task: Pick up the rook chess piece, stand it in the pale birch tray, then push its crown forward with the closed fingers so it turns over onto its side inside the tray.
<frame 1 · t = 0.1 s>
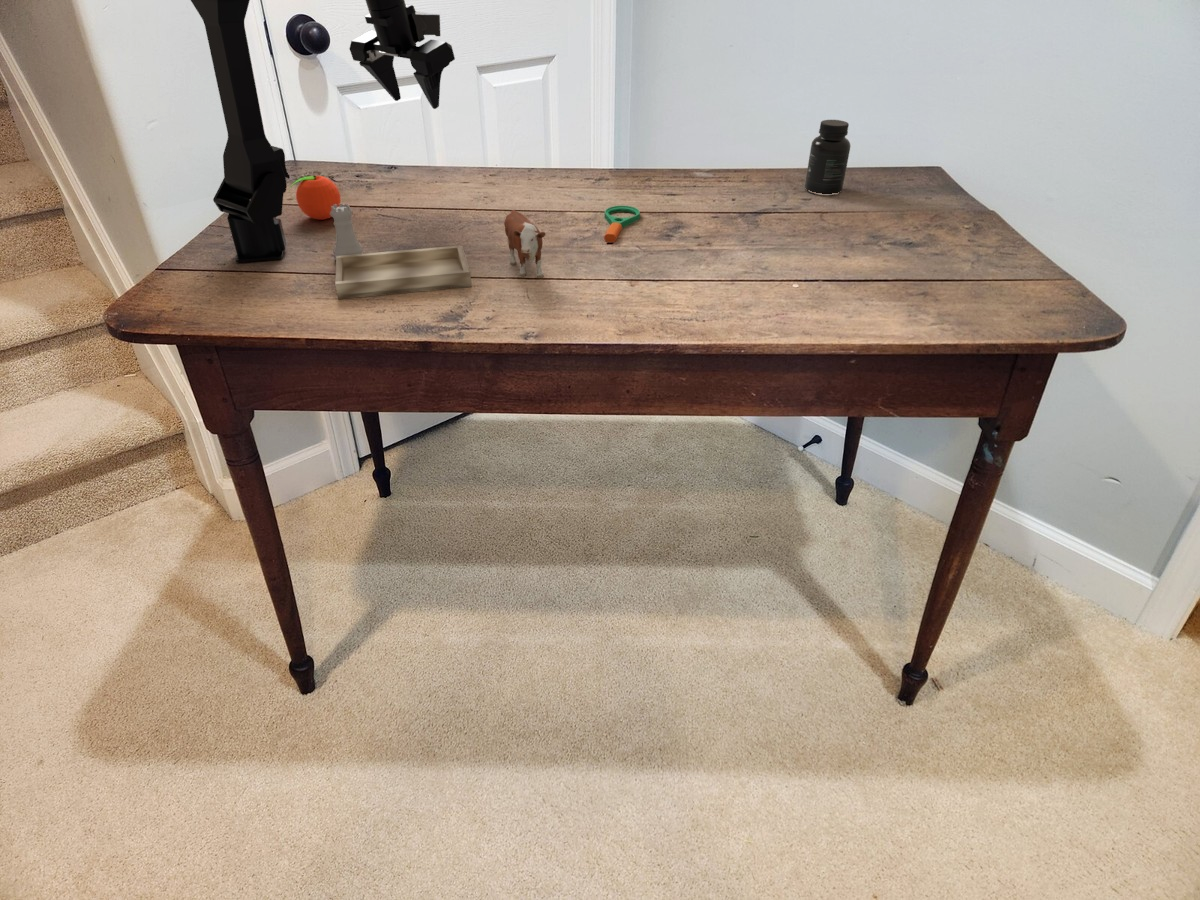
hand: (416, 103, 133), 15 cm above the table, tool pointing down, fingers open, 9 cm apart
rook chess piece: (350, 260, 118), on the table
bull figurine: (526, 271, 116), on the table
clementine: (319, 219, 132), on the table
tray: (404, 278, 113), on the table
magnifying glass: (617, 228, 131), on the table
supplement bottle: (822, 191, 147), on the table
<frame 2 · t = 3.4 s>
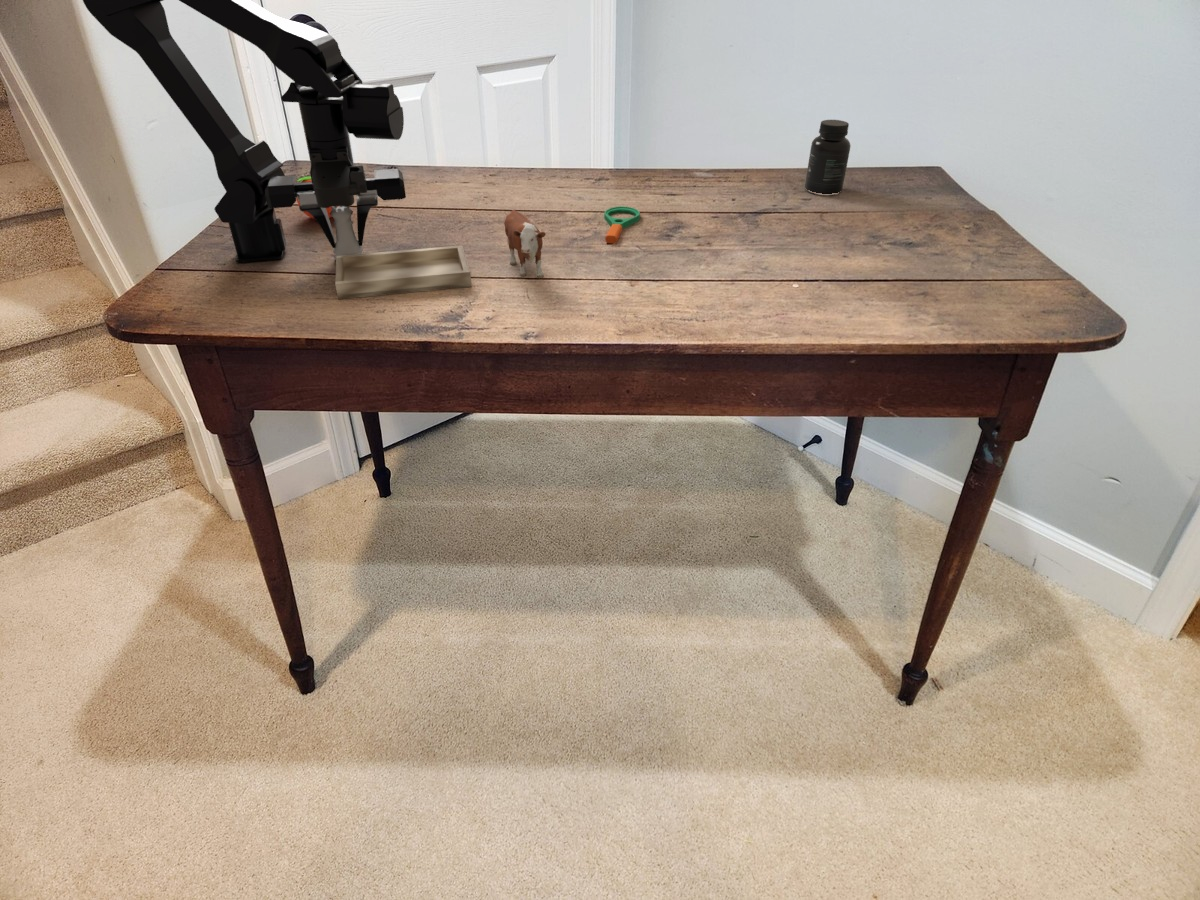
hand: (347, 246, 117), 2 cm above the table, tool pointing down, fingers closed on rook chess piece, 3 cm apart
rook chess piece: (350, 260, 118), on the table, touching gripper
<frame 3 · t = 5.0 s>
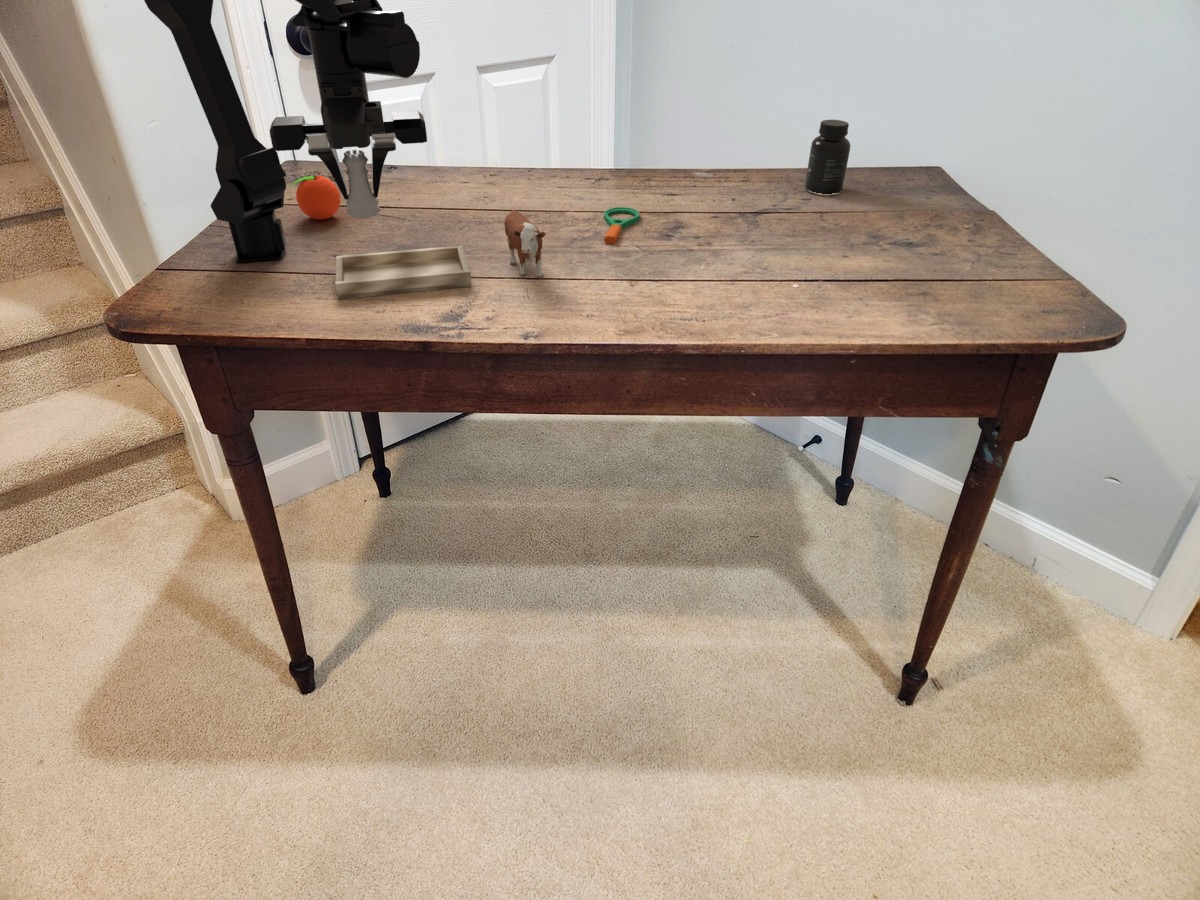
hand: (361, 197, 105), 12 cm above the table, tool pointing down, fingers closed on rook chess piece, 3 cm apart
rook chess piece: (364, 215, 107), point 9 cm above the table, touching gripper
everything else where it was.
when the fingers open (4 cm above the table, at t = 6.7 s): rook chess piece stays where it is, resting on tray.
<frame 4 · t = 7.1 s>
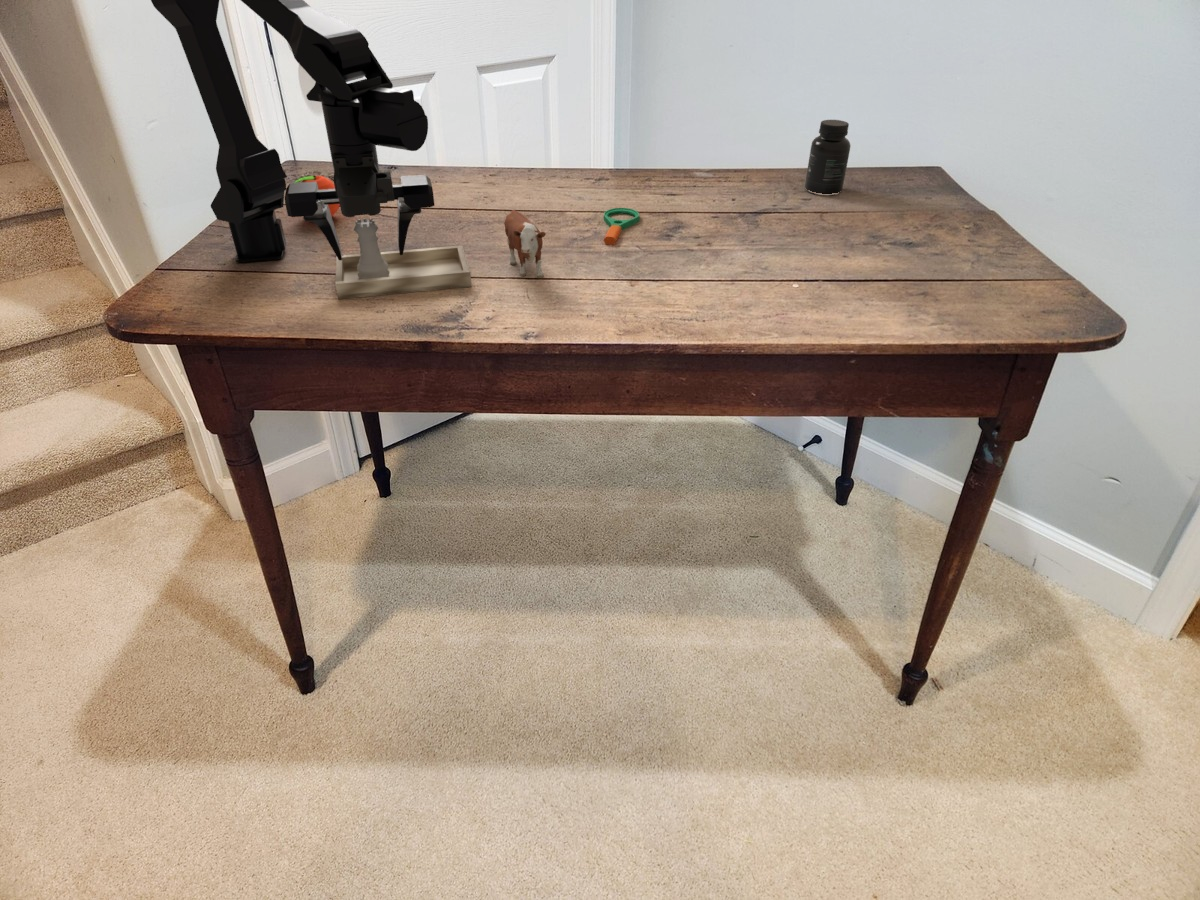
hand: (371, 256, 110), 4 cm above the table, tool pointing down, fingers open, 8 cm apart
rook chess piece: (374, 278, 112), resting on tray
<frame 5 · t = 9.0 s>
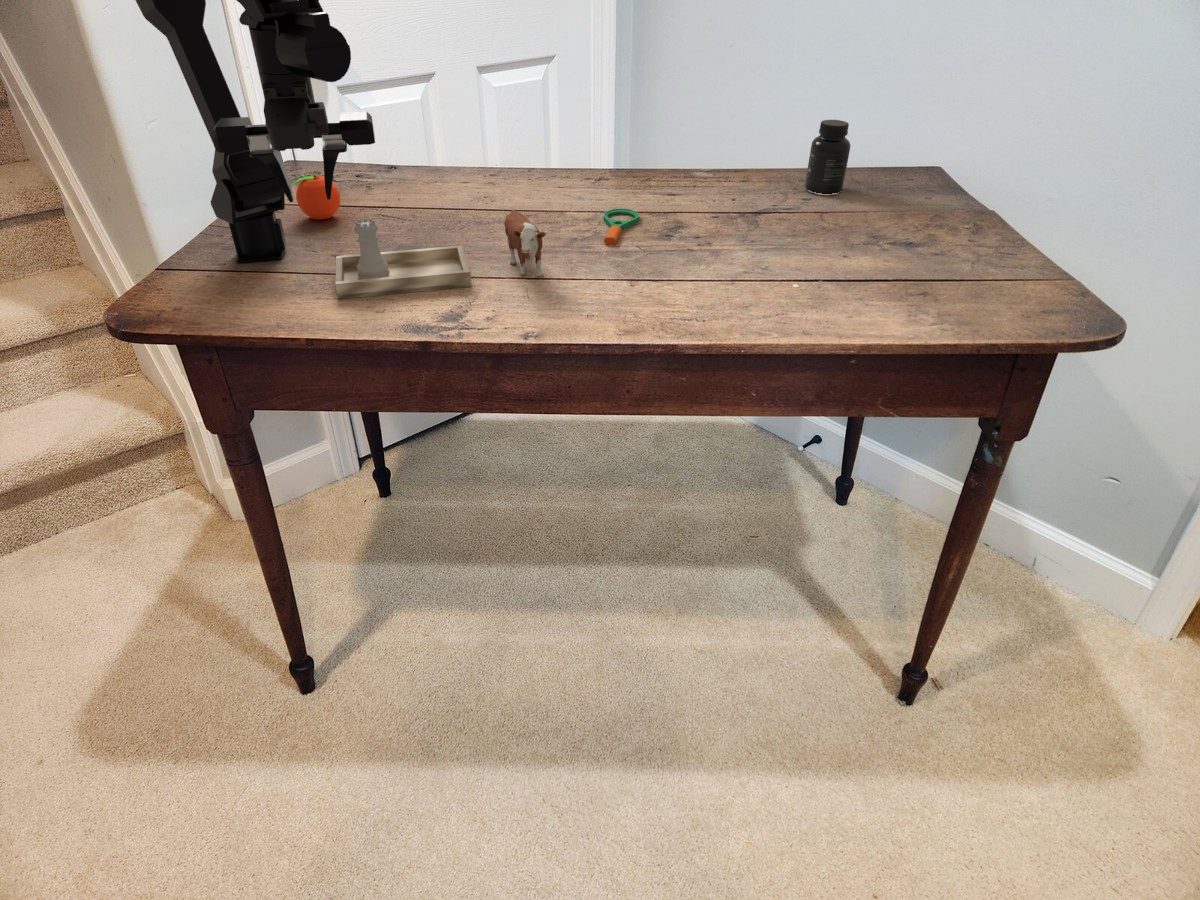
hand: (310, 200, 104), 12 cm above the table, tool pointing down, fingers open, 4 cm apart
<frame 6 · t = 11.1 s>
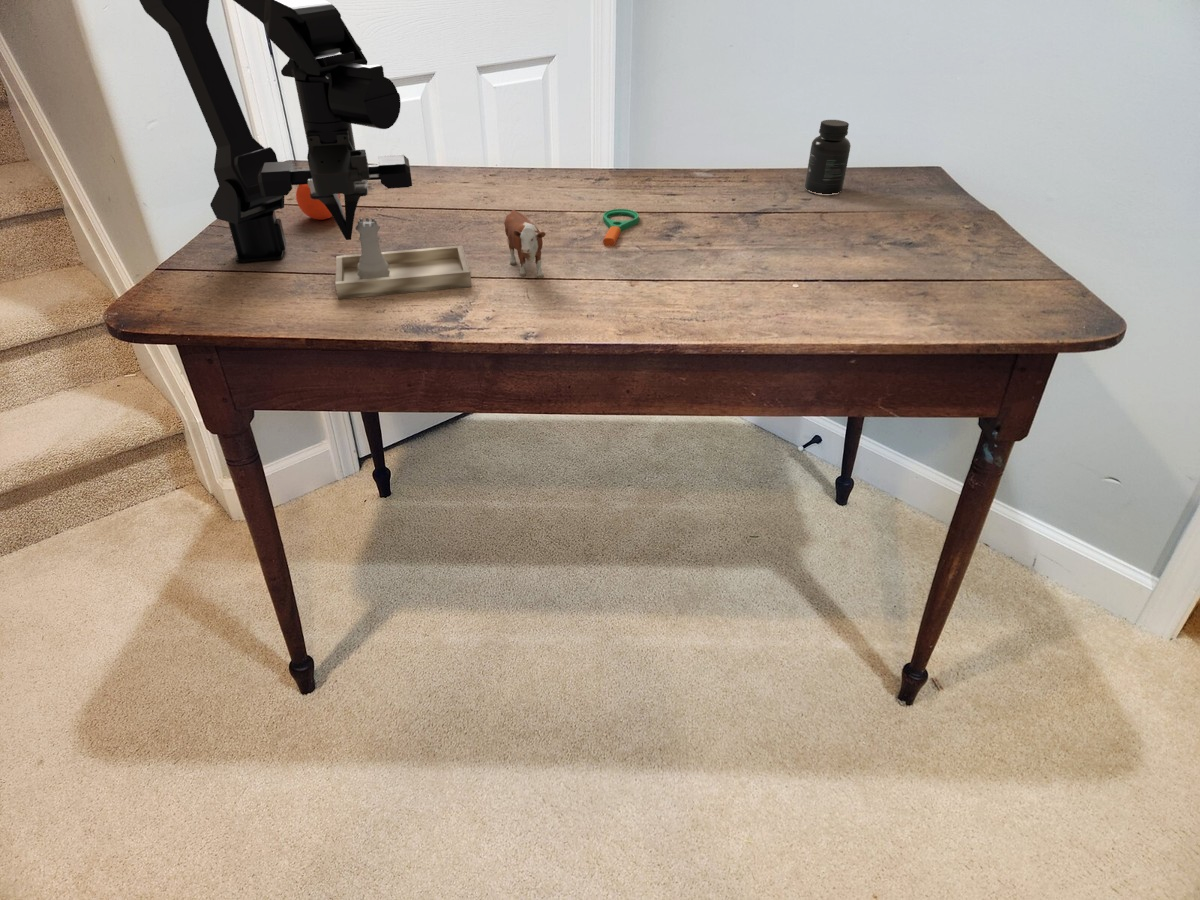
hand: (348, 239, 108), 6 cm above the table, tool pointing down, fingers closed
rook chess piece: (374, 277, 112), resting on tray, touching gripper
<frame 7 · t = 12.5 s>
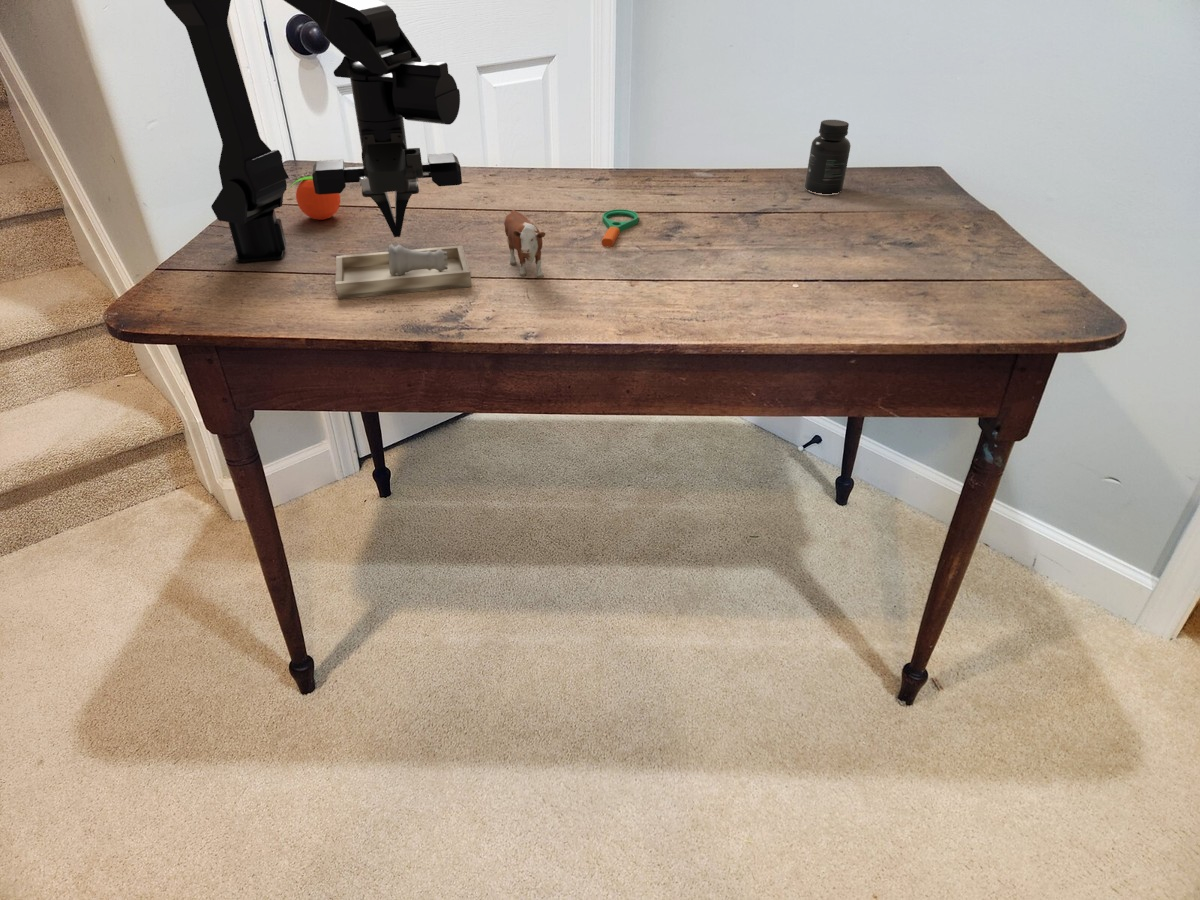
hand: (397, 236, 109), 6 cm above the table, tool pointing down, fingers closed
rook chess piece: (387, 260, 111), point 3 cm above the table, touching tray
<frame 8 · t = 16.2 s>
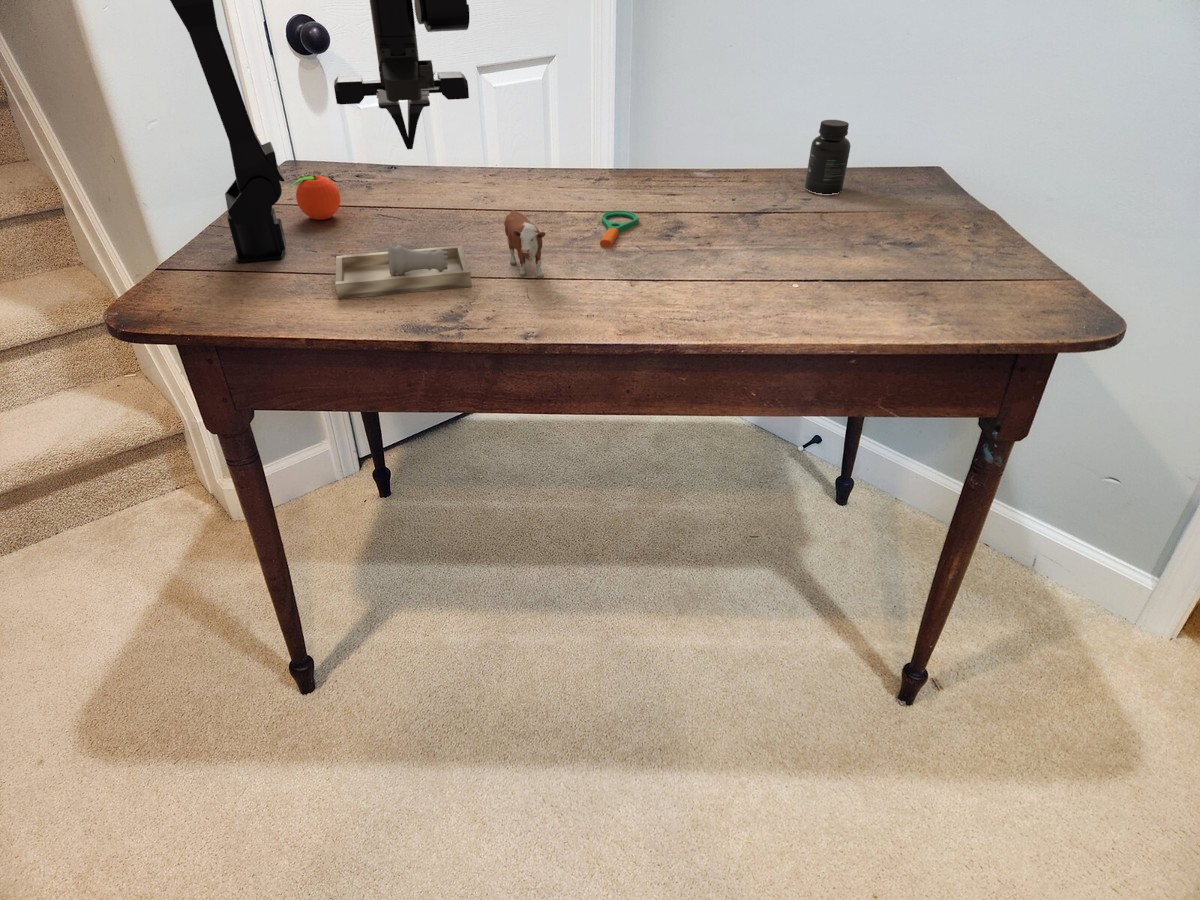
hand: (409, 148, 120), 13 cm above the table, tool pointing down, fingers closed
at the end: rook chess piece tilted 95°; rook chess piece inside the target area (1.9 cm from its centre), point 2.9 cm above the table; the gripper is holding nothing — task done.
